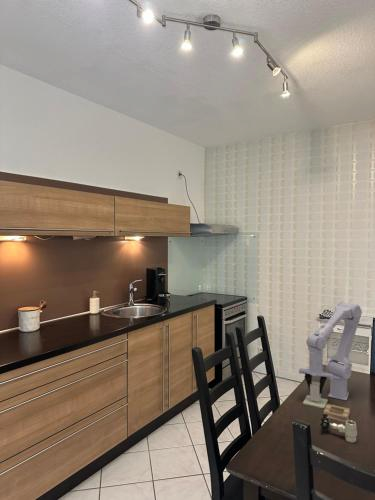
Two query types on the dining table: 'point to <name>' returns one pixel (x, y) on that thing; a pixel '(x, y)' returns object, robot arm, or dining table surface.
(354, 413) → the dining table surface
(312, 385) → the steel peg
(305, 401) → the sage pad
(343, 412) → the socket block
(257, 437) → the dining table surface
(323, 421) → the valve
